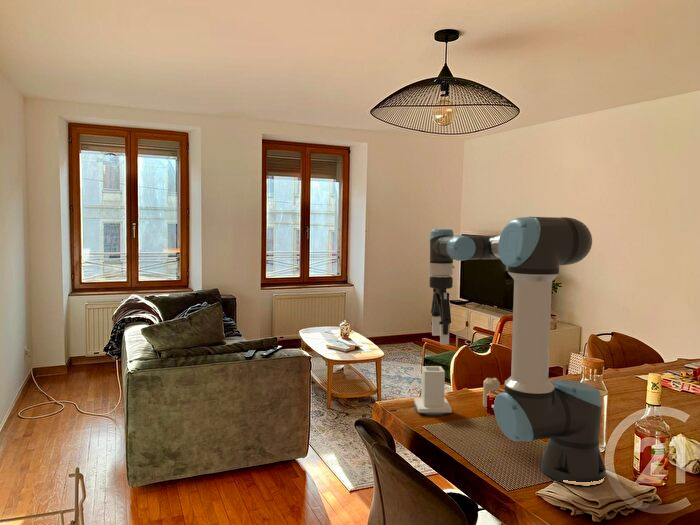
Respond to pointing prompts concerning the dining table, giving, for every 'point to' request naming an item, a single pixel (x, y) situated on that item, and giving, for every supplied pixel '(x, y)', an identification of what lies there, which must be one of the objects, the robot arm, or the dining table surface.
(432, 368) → the flange
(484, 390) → the candle
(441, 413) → the post base
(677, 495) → the dining table surface
